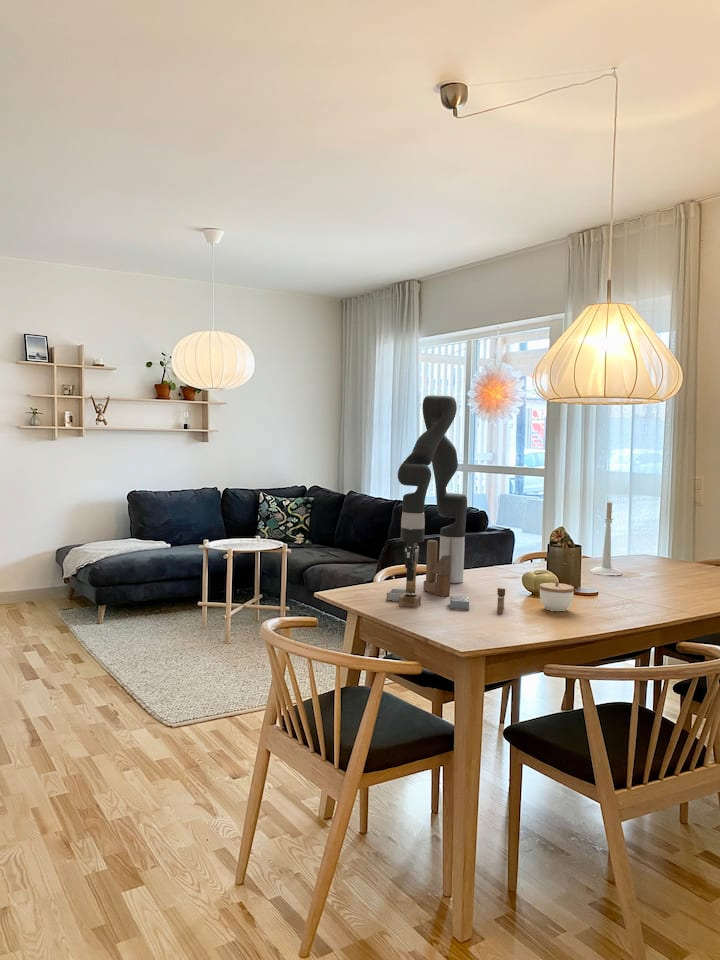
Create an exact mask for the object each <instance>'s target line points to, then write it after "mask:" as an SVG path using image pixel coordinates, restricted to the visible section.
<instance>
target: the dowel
mask: <svg viewBox="0 0 720 960" xmlns="http://www.w3.org/2000/svg"><path fill="white" fill-rule="evenodd" d="M408 564H411V563H410V562H409V563H408ZM414 567H415V568H414V580H413V581H407V576H406V578H405V579H406V580H405V581H406V585H405V589H406V593H412V594H416V583H417V581H416V580H417V567H416V562H415V564H414Z"/></svg>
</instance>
